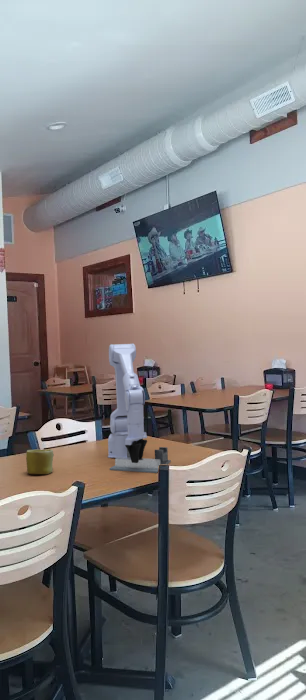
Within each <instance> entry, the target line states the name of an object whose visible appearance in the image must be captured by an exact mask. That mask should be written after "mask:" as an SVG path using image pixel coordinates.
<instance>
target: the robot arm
mask: <svg viewBox="0 0 306 700" xmlns="http://www.w3.org/2000/svg"><path fill="white" fill-rule="evenodd" d="M136 357H137V349H136V344H134V343H120V344H119V343H117V344H112V343H110V345H109V346H108V361H109V366H112V367H113V368H114V373H115V374H114V375H115V391H116V393H115V396H116V408H115V410H113V411H112V412H111V414H110V418H109V419H110V421H109V427H110V428H109V429H110V432H111V433H110V434H109V436H108V438H107V445H108V446H107V448H108V449H107V451H108V455H107V458H112V459H113V458H115V459H116V458H118V457H127V449H128V451H129V454H130V458H131V461H132V463H138V460H139V458H144V457H143V456H144V453H145V448H146V446H147V443H148V439H147V438H148V435H147V432H146V431H145V425H144V423H145V421H144V420H145V419H144V405H145V402H146V395H145V391H144V388H143V386H141V384H140V383H141V382H140V380H139V376H138V374H137V373H136V372H134V370H135V369H134V362H135V359H136Z"/></svg>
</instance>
